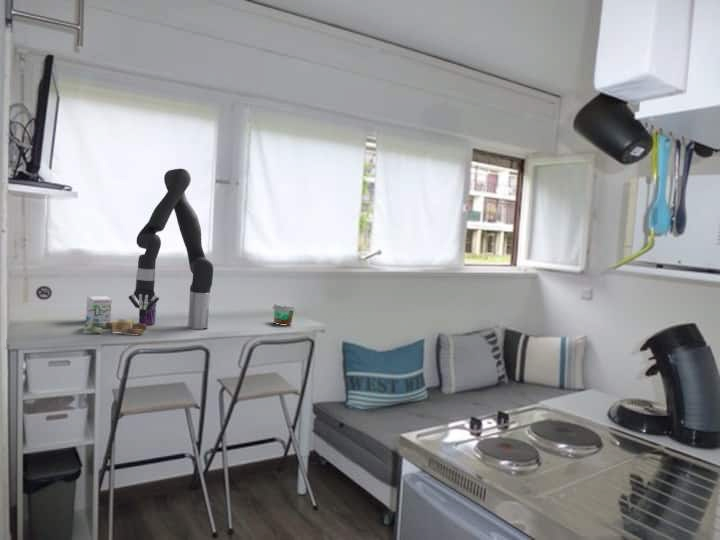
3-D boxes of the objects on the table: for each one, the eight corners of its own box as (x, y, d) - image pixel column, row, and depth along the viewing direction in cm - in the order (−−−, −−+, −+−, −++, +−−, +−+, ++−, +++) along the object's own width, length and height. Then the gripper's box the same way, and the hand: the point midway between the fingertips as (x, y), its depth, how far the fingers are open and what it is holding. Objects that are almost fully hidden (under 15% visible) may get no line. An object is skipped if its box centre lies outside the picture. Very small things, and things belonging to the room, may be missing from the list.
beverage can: (149, 326, 244) (150, 300, 243) (135, 324, 246) (137, 299, 244) (158, 323, 251) (159, 298, 250) (144, 321, 252) (146, 297, 251)
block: (132, 330, 234) (132, 319, 234) (129, 334, 228) (130, 322, 227) (115, 330, 232) (115, 318, 232) (112, 333, 226) (112, 322, 225)
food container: (267, 323, 275) (268, 304, 274) (273, 321, 281) (274, 303, 280) (287, 327, 271) (289, 308, 270) (293, 325, 277) (295, 306, 276)
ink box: (90, 324, 237) (91, 299, 236) (85, 320, 243) (86, 296, 242) (110, 323, 242) (112, 298, 241) (105, 319, 249) (106, 295, 248)
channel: (146, 329, 238) (146, 320, 238) (142, 335, 227) (143, 326, 226) (90, 327, 232) (90, 318, 232) (83, 333, 220) (84, 324, 220)
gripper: (162, 278, 235) (159, 316, 237) (130, 276, 232) (127, 314, 234) (160, 281, 228) (157, 320, 230) (127, 278, 225) (124, 318, 226)
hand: (142, 317), depth 232 cm, fingers closed
